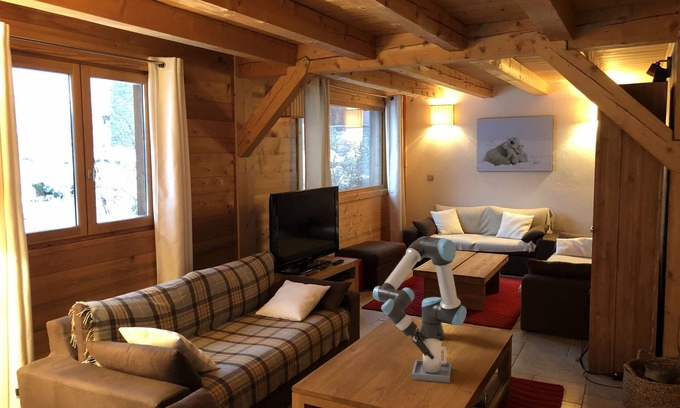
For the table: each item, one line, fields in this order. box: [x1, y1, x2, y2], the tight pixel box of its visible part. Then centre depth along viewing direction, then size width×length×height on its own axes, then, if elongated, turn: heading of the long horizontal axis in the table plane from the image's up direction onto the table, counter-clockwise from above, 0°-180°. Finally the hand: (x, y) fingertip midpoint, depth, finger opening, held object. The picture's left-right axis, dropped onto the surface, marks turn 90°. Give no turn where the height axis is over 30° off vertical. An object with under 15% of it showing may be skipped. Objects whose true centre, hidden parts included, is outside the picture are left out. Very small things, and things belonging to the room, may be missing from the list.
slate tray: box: [411, 359, 452, 384], centre depth 281 cm, size 18×18×3 cm
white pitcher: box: [422, 339, 448, 373], centre depth 280 cm, size 9×12×14 cm
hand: (438, 359), depth 280 cm, fingers closed on white pitcher, 9 cm apart
